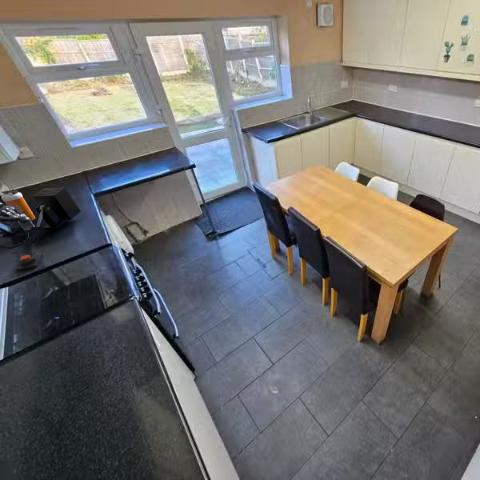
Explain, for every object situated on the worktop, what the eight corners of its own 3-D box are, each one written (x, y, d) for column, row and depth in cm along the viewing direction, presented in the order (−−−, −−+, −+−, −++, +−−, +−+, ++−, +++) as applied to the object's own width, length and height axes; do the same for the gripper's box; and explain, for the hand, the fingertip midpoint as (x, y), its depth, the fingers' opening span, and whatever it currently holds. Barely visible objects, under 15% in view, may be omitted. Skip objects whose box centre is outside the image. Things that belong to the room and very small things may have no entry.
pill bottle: (36, 227, 170) (27, 214, 165) (25, 231, 166) (16, 218, 161) (33, 225, 172) (24, 213, 167) (22, 229, 169) (13, 216, 164)
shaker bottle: (25, 217, 180) (5, 189, 169) (40, 215, 181) (21, 188, 170) (15, 223, 172) (-6, 195, 161) (31, 222, 174) (11, 193, 162)
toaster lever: (43, 229, 161) (40, 228, 159) (33, 230, 161) (29, 228, 159) (51, 207, 167) (47, 205, 164) (40, 207, 166) (37, 205, 164)
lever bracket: (56, 228, 169) (42, 210, 160) (43, 229, 168) (28, 210, 160) (67, 219, 176) (54, 201, 168) (54, 220, 176) (40, 202, 167)
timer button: (30, 260, 141) (27, 258, 139) (21, 262, 139) (19, 260, 138) (32, 256, 143) (30, 253, 142) (24, 258, 142) (21, 255, 141)
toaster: (71, 219, 177) (53, 195, 165) (51, 220, 176) (31, 196, 165) (81, 211, 184) (64, 187, 173) (61, 212, 184) (43, 188, 172)
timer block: (38, 268, 141) (32, 262, 139) (18, 272, 139) (13, 267, 136) (44, 256, 148) (39, 251, 146) (26, 260, 146) (20, 255, 143)
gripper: (-22, 206, 142) (18, 224, 150) (-1, 194, 153) (36, 211, 161) (-25, 215, 145) (15, 232, 153) (-3, 202, 156) (33, 219, 164)
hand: (26, 221), depth 157 cm, fingers closed
